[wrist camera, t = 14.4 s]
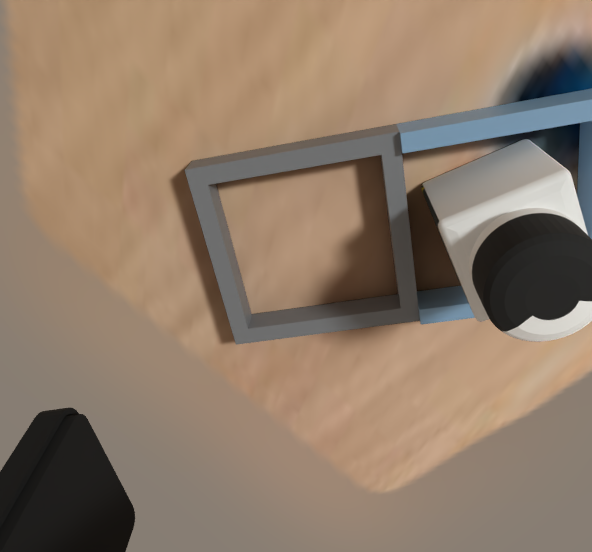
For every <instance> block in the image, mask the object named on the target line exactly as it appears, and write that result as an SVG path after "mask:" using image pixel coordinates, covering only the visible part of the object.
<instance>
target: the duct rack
mask: <svg viewBox="0 0 592 552" xmlns="http://www.w3.org/2000/svg"><path fill="white" fill-rule="evenodd" d="M576 123H580V136H579V160H578V184H577V198H578V201H579V205H580V208H581V212H582V215H583V219H584V223H585V226H586V230H587V233H588V236H589V237H590V238H591V239H592V89H587V90H581V91H576V92H570V93H565V94H559V95H554V96H548V97H543V98H537V99H532V100H526V101H521V102H515V103H510V104H504V105H499V106H493V107H488V108H482V109H476V110H471V111H465V112H460V113H454V114H449V115H443V116H438V117H432V118H427V119H421V120H416V121H410V122H405V123H399V124H394V125H388V126H382V127H377V128H371V129H366V130H360V131H355V132H349V133H344V134H338V135H333V136H327V137H322V138H316V139H311V140H305V141H300V142H294V143H288V144H283V145H277V146H272V147H266V148H261V149H255V150H250V151H244V152H239V153H233V154H228V155H222V156H217V157H211V158H206V159H200V160H195V161H191V163H190V164H189V165H188V166H187V167H186V169H185V173H186V177H187V180H188V184H189V187H190V190H191V194H192V197H193V201H194V204H195V207H196V211H197V214H198V217H199V221H200V224H201V228H202V231H203V234H204V238H205V241H206V245H207V248H208V251H209V255H210V258H211V262H212V265H213V268H214V272H215V275H216V278H217V282H218V285H219V289H220V292H221V295H222V299H223V302H224V306H225V309H226V312H227V316H228V319H229V323H230V326H231V329H232V333H233V336H234V340H235V343H236V344H243V343H251V342H259V341H267V340H274V339H282V338H290V337H297V336H305V335H313V334H320V333H328V332H336V331H344V330H351V329H359V328H367V327H374V326H382V325H390V324H397V323H405V322H413V321H420V323H421V324H428V323H436V322H444V321H452V320H459V319H467V318H475V317H474V314H473V312H472V310H471V307H470V305H469V303H468V300H467V298H466V296H465V293H464V291H463V289H462V286H454V287H446V288H439V289H432V290H425V291H417V289H416V280H415V271H414V261H413V252H412V243H411V234H410V224H409V215H408V206H407V197H406V187H405V178H404V169H403V160H402V153H408V152H414V151H420V150H426V149H431V148H437V147H443V146H449V145H455V144H460V143H466V142H472V141H478V140H483V139H489V138H495V137H501V136H507V135H512V134H518V133H524V132H530V131H535V130H541V129H547V128H553V127H559V126H564V125H570V124H576ZM377 155H380V157H381V165H382V173H383V180H384V188H385V196H386V204H387V212H388V220H389V228H390V236H391V244H392V252H393V260H394V268H395V276H396V283H397V291H398V294H395V295H388V296H381V297H374V298H366V299H359V300H352V301H345V302H337V303H330V304H323V305H315V306H308V307H301V308H294V309H286V310H279V311H272V312H264V313H257V314H251V310H250V307H249V303H248V299H247V296H246V292H245V288H244V285H243V281H242V277H241V274H240V270H239V266H238V262H237V259H236V255H235V251H234V248H233V244H232V240H231V237H230V233H229V229H228V226H227V222H226V218H225V214H224V211H223V207H222V203H221V200H220V196H219V192H218V189H217V185H216V183H222V182H228V181H233V180H239V179H245V178H251V177H256V176H262V175H268V174H274V173H279V172H285V171H291V170H297V169H302V168H308V167H314V166H320V165H325V164H331V163H337V162H343V161H348V160H354V159H360V158H366V157H372V156H377Z"/></svg>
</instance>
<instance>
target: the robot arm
mask: <svg viewBox="0 0 592 552" xmlns="http://www.w3.org/2000/svg"><path fill="white" fill-rule="evenodd" d="M134 522H135V512H134V508H133V505H132V503H131V502H130V500H129V498H128V496H127V494H126V492H125V490H124V488H123V486H122V484H121V482H120V480H119V479H118V477H117V475H116V473H115V471H114V469H113V467H112V465H111V463H110V461H109V460H108V457H107V456H106V454H105V452H104V450H103V448H102V446H101V444H100V442H99V440H98V438H97V436H96V434H95V433H94V431H93V429H92V427H91V425H90V423H89V421H88V419H87V418H86V416H84V415H83V414H79V413H78V412H77V411H76V410H75V409H73V408H63V409H57V410H49V411H43V412H40V413H39V414H38V415H37V416H36V417H35V418H34V420H33V422H32V423H31V425H30V426H29V428H28V430H27V431H26V433H25V434H24V436H23V437H22V439H21V440H20V442H19V443H18V445H17V447H16V448H15V450H14V451H13V453H12V454H11V456H10V458H9V459H8V461H7V462H6V464H5V465H4V467H3V469H2V470H1V472H0V552H125V551H126V548H127V545H128V542H129V539H130V536H131V533H132V530H133V527H134Z"/></svg>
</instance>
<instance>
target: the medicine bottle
mask: <svg viewBox="0 0 592 552" xmlns="http://www.w3.org/2000/svg"><path fill="white" fill-rule="evenodd" d="M421 189H422V192H423V194H424V197H425V199H426V202H427V204H428V207H429V209H430V212H431V214H432V216H433V219H434V221H435V224H436V226H437V229H438V231H439V234H440V236H441V238H442V241H443V243H444V246H445V248H446V251H447V253H448V256H449V258H450V260H451V263H452V265H453V268H454V270H455V273H456V275H457V277H458V279H459V282H460V284H461V286H462V289H463V291H464V293H465V296H466V298H467V300H468V303H469V305H470V307H471V310H472V312H473V314H474V317H475V318H476V319H477V320H478V321H480V322H481V321H485V320H488V319H490V320H491V322H492V323H493V324H494V325H495V326H496V327H497V328H498V329H499V330H501V331H502V332H504V333H505V334H507V335H509V336H511V337H514V338H517V339H520V340H525V341H536V342H540V341H550V340H555V339H559V338H563V337H566V336H568V335H571V334H573V333H575V332H577V331H579V330H580V329H582V328H583V327H585V326H586V325H588V324H589V323H590V322H591V321H592V239H591V238H590V237H589V236H588V233H587V230H586V226H585V223H584V219H583V215H582V212H581V208H580V205H579V201H578V198H577V194H576V190H575V187H574V183H573V180H572V176H571V173H570V172H569V170H567V169H566V168H565V167H563V166H562V165H561V164H560V163H558V162H557V161H556V160H554V159H553V158H552V157H551V156H549V155H548V154H547V153H545V152H544V151H543V150H542V149H540V148H539V147H538V146H537V145H535V144H534V143H533V142H531V141H530V140H528V139H523V140H521V141H518V142H516V143H514V144H511V145H509V146H507V147H504V148H502V149H500V150H497V151H495V152H493V153H491V154H488V155H486V156H484V157H481V158H479V159H477V160H474V161H472V162H470V163H467V164H465V165H463V166H461V167H458V168H456V169H454V170H451V171H449V172H447V173H444V174H442V175H440V176H437V177H435V178H433V179H430V180H428V181H426V182H424V183H423V184H422V186H421Z"/></svg>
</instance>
